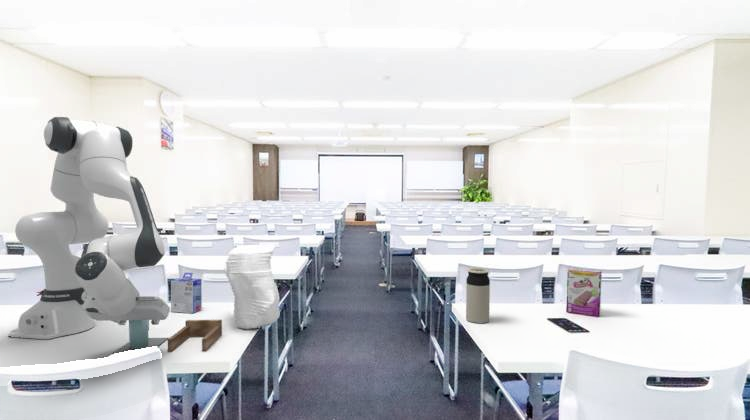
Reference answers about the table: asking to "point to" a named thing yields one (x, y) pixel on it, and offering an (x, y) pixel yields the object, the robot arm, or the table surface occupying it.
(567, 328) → the smartphone
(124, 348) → the mat
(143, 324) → the pale blue domed cylinder
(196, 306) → the ink cartridge box
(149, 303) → the robot arm
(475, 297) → the travel mug
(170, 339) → the holder
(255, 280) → the white crumpled mass
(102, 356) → the table surface
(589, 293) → the candy bar box
